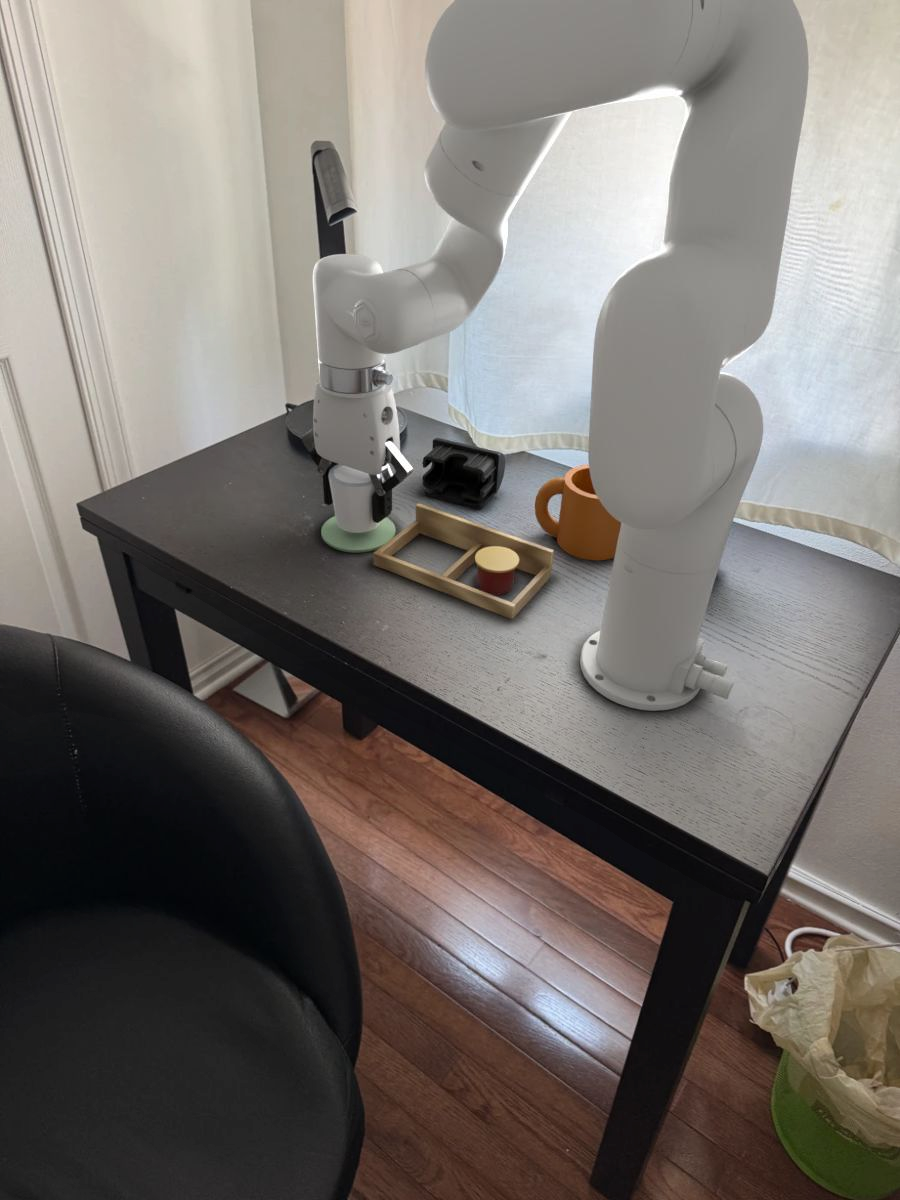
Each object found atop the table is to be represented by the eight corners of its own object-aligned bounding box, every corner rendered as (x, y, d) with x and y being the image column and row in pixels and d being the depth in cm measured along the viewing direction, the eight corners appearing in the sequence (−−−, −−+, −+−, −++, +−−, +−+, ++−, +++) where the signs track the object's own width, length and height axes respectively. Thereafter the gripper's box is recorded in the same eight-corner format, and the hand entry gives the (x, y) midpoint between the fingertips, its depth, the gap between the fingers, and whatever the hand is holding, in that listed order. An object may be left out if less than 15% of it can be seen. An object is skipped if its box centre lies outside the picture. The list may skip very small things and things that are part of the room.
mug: (548, 511, 109) (555, 452, 103) (632, 535, 105) (645, 474, 99) (523, 542, 102) (529, 480, 97) (612, 568, 98) (624, 505, 93)
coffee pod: (524, 580, 96) (527, 554, 93) (503, 601, 92) (506, 576, 90) (486, 566, 98) (488, 541, 95) (465, 587, 94) (466, 561, 92)
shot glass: (376, 538, 99) (375, 489, 95) (324, 531, 100) (320, 481, 96) (391, 511, 104) (390, 463, 100) (341, 504, 105) (338, 456, 101)
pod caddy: (550, 577, 96) (554, 549, 94) (512, 619, 89) (515, 591, 87) (418, 529, 104) (418, 503, 102) (373, 565, 97) (372, 537, 95)
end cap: (503, 488, 114) (507, 445, 109) (484, 511, 108) (487, 466, 104) (440, 473, 117) (442, 430, 113) (419, 494, 111) (419, 450, 107)
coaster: (409, 527, 104) (409, 524, 104) (366, 561, 98) (366, 558, 97) (351, 506, 108) (351, 503, 108) (305, 537, 102) (305, 534, 101)
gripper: (434, 380, 89) (431, 516, 100) (313, 348, 96) (322, 478, 107) (396, 402, 84) (397, 543, 95) (271, 366, 91) (285, 501, 102)
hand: (357, 508), depth 101 cm, fingers closed on shot glass, 6 cm apart
